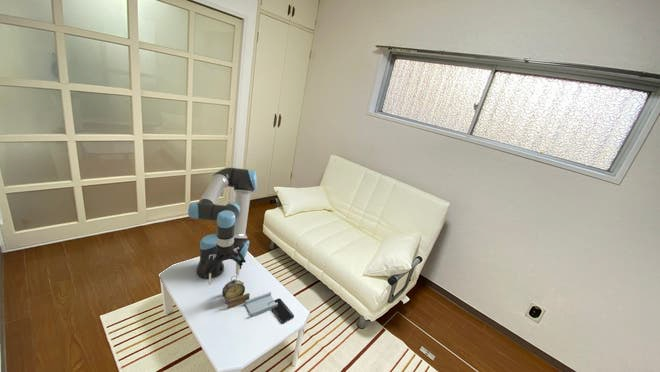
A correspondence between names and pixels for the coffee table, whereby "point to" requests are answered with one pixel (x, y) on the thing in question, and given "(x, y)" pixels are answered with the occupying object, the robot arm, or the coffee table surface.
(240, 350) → the coffee table surface
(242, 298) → the channel
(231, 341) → the coffee table surface
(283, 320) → the phone
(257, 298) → the cradle
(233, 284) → the alarm clock
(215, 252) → the robot arm
